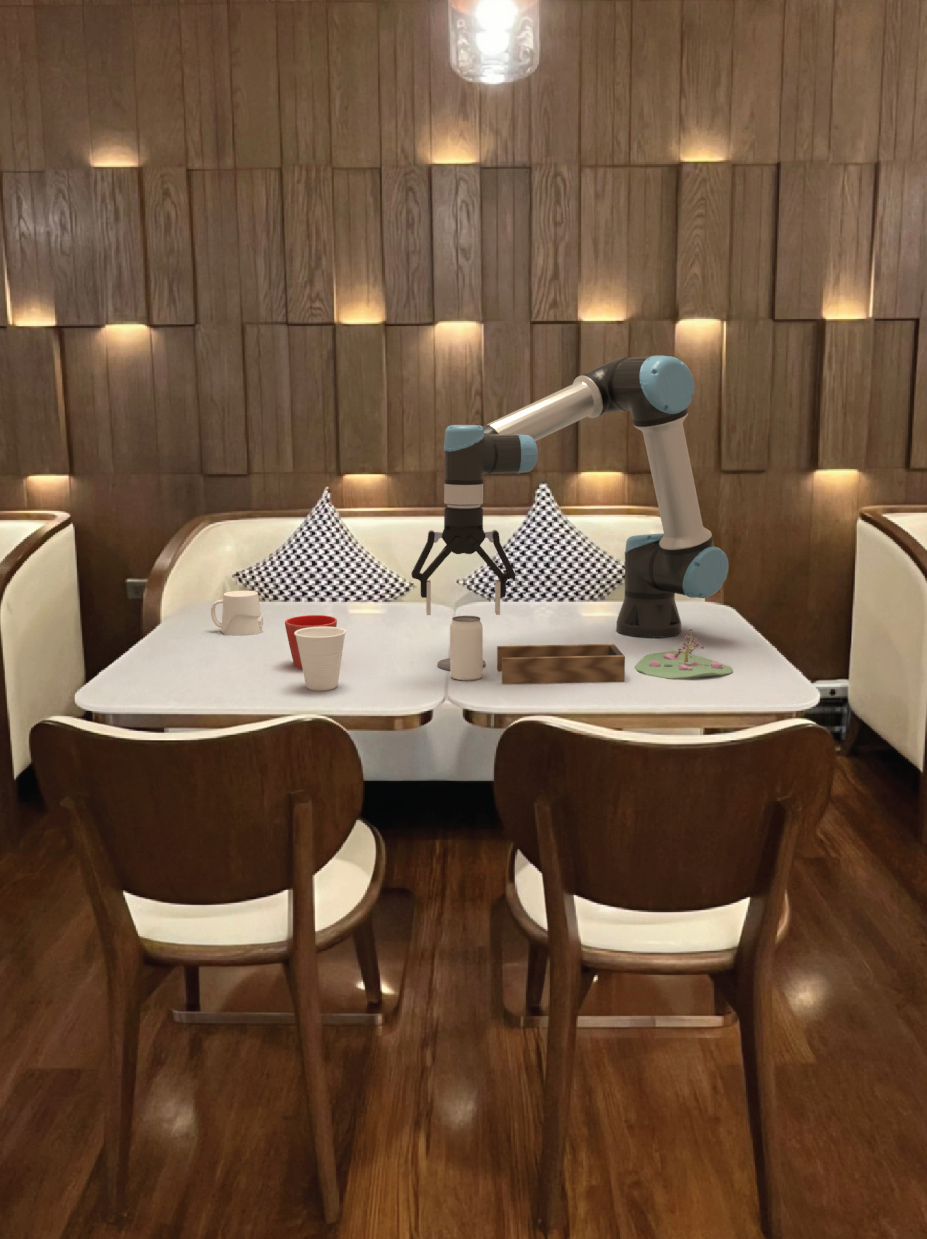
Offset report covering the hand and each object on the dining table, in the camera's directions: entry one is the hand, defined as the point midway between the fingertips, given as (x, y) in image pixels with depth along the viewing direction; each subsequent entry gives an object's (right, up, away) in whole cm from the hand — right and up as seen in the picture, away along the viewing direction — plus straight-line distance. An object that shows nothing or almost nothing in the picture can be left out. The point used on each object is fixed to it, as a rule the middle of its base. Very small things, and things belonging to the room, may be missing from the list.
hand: (463, 613), depth 226 cm
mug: (-54, -4, +47) cm, 71 cm away
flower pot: (-31, -11, +14) cm, 36 cm away
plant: (+45, -11, +12) cm, 48 cm away
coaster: (0, -11, +13) cm, 16 cm away
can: (+1, -13, +3) cm, 13 cm away
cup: (-27, -14, -4) cm, 31 cm away
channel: (+19, -12, +4) cm, 23 cm away
